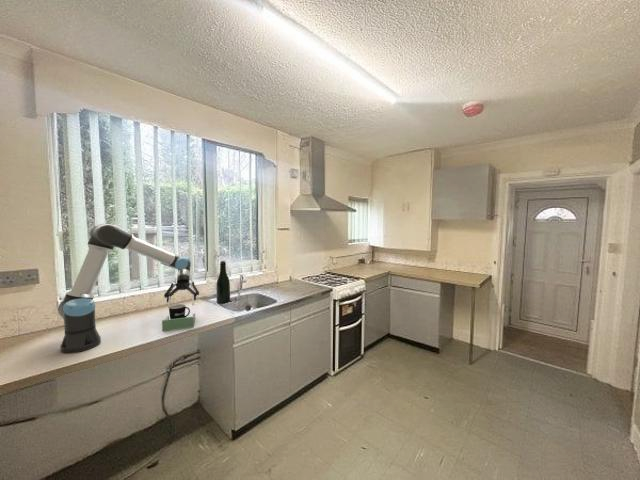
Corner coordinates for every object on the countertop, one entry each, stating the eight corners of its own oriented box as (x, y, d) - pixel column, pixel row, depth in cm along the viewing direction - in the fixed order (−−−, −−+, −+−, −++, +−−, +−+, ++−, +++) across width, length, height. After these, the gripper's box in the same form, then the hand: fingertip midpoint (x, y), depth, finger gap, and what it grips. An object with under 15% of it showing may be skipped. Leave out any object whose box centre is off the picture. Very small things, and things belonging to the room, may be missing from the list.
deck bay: (162, 331, 152) (162, 320, 152) (166, 321, 167) (166, 312, 166) (193, 327, 158) (193, 317, 158) (195, 318, 173) (194, 309, 173)
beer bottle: (228, 298, 217) (228, 259, 215) (231, 302, 209) (231, 261, 207) (215, 300, 212) (214, 260, 210) (218, 304, 203) (217, 262, 201)
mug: (172, 326, 156) (172, 309, 156) (166, 322, 162) (166, 306, 162) (192, 320, 165) (192, 305, 165) (187, 317, 171) (186, 302, 171)
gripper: (203, 279, 185) (202, 306, 172) (163, 281, 176) (159, 310, 163) (203, 273, 180) (202, 300, 167) (161, 275, 171) (157, 304, 158)
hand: (181, 305), depth 165 cm, fingers open, 13 cm apart
